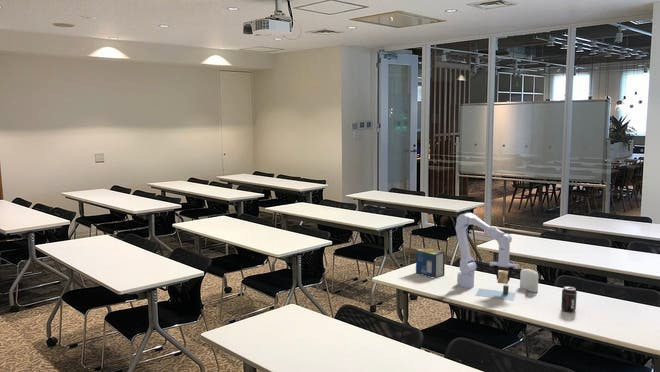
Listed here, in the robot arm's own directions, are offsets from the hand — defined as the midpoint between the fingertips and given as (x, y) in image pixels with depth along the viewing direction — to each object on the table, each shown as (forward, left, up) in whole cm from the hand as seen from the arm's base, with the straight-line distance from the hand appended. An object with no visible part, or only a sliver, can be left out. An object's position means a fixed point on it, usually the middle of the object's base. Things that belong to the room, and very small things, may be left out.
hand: (503, 279), depth 291 cm
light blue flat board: (-3, -2, -10) cm, 10 cm away
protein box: (-47, +26, -10) cm, 55 cm away
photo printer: (+13, +17, -10) cm, 23 cm away
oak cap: (0, 0, -1) cm, 1 cm away
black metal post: (+2, +1, -8) cm, 9 cm away
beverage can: (+34, -10, -10) cm, 36 cm away
